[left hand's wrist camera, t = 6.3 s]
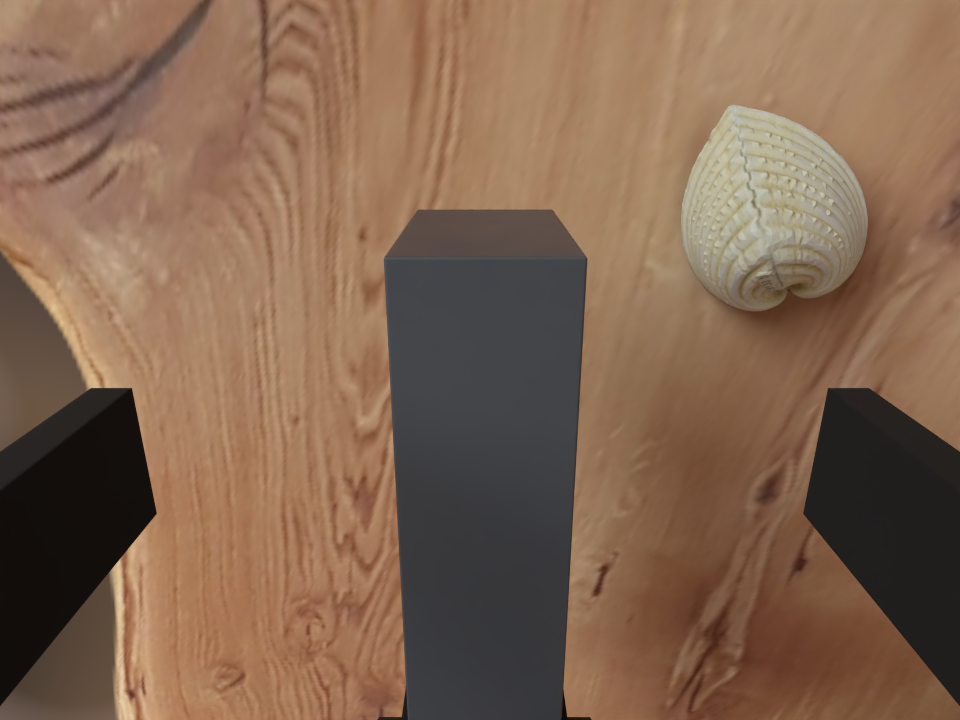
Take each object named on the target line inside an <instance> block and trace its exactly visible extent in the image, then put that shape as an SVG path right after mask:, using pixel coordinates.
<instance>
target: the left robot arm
mask: <svg viewBox="0 0 960 720" xmlns="http://www.w3.org/2000/svg"><path fill="white" fill-rule="evenodd" d="M156 514H157V513H156V508H155V503H154V498H153V493H152V487H151V482H150V477H149V472H148V467H147V462H146V457H145V452H144V447H143V442H142V437H141V432H140V427H139V422H138V417H137V412H136V407H135V402H134V397H133V392H132V388H91V389H89V390H88V391H87V392H85V393H84V394H82V395H81V396H79V397H78V398H77V399H75V400H74V401H72V402H71V403H69V404H68V405H67V406H65V407H64V408H62V409H61V410H59V411H58V412H57V413H55V414H54V415H52V416H51V417H49V418H48V419H46V420H45V421H44V422H42V423H41V424H39V425H38V426H36V427H35V428H34V429H32V430H31V431H29V432H28V433H26V434H25V435H24V436H22V437H21V438H19V439H18V440H16V441H15V442H14V443H12V444H11V445H9V446H8V447H6V448H5V449H4V450H2V451H1V452H0V706H1V704H2V703H3V702H4V701H5V699H6V698H7V697H8V696H9V694H10V693H11V692H12V691H13V690H14V688H15V687H16V686H17V685H18V683H19V682H20V681H21V680H22V679H23V677H24V676H25V675H26V674H27V672H28V671H29V670H30V669H31V667H32V666H33V665H34V664H35V663H36V661H37V660H38V659H39V658H40V656H41V655H42V654H43V653H44V651H45V650H46V649H47V648H48V647H49V645H50V644H51V643H52V642H53V640H54V639H55V638H56V637H57V636H58V634H59V633H60V632H61V631H62V629H63V628H64V627H65V626H66V624H67V623H68V622H69V621H70V620H71V618H72V617H73V616H74V615H75V613H76V612H77V611H78V610H79V608H80V607H81V606H82V605H83V604H84V602H85V601H86V600H87V599H88V597H89V596H90V595H91V594H92V593H93V591H94V590H95V589H96V588H97V586H98V585H99V584H100V583H101V581H102V580H103V579H104V578H105V576H106V575H107V574H108V573H109V572H110V570H111V569H112V568H113V567H114V565H115V564H116V563H117V562H118V561H119V559H120V558H121V557H122V556H123V554H124V553H125V552H126V551H127V549H128V548H129V547H130V546H131V545H132V543H133V542H134V541H135V540H136V538H137V537H138V536H139V535H140V534H141V532H142V531H143V530H144V529H145V527H146V526H147V525H148V524H149V522H150V521H151V520H152V519H153V518H154V516H155V515H156ZM803 514H804V515H805V516H806V518H807V519H808V520H809V521H810V522H811V524H812V525H813V526H814V527H815V529H816V530H817V531H818V532H819V534H820V535H821V536H822V537H823V538H824V540H825V541H826V542H827V543H828V545H829V546H830V547H831V548H832V549H833V551H834V552H835V553H836V554H837V556H838V557H839V558H840V559H841V561H842V562H843V563H844V564H845V565H846V567H847V568H848V569H849V570H850V572H851V573H852V574H853V575H854V577H855V578H856V579H857V580H858V581H859V583H860V584H861V585H862V586H863V588H864V589H865V590H866V591H867V593H868V594H869V595H870V596H871V597H872V599H873V600H874V601H875V602H876V604H877V605H878V606H879V607H880V608H881V610H882V611H883V612H884V613H885V615H886V616H887V617H888V618H889V620H890V621H891V622H892V623H893V624H894V626H895V627H896V628H897V629H898V631H899V632H900V633H901V634H902V636H903V637H904V638H905V639H906V640H907V642H908V643H909V644H910V645H911V647H912V648H913V649H914V650H915V652H916V653H917V654H918V655H919V656H920V658H921V659H922V660H923V661H924V663H925V664H926V665H927V666H928V668H929V669H930V670H931V671H932V672H933V674H934V675H935V676H936V677H937V679H938V680H939V681H940V682H941V683H942V685H943V686H944V687H945V688H946V690H947V691H948V692H949V693H950V695H951V696H952V697H953V698H954V699H955V701H956V702H957V703H958V704H959V706H960V452H959V451H958V450H956V449H955V448H954V447H952V446H951V445H949V444H948V443H946V442H945V441H944V440H942V439H941V438H939V437H938V436H936V435H935V434H934V433H932V432H931V431H929V430H928V429H926V428H925V427H924V426H922V425H921V424H919V423H918V422H916V421H915V420H914V419H912V418H911V417H909V416H908V415H906V414H905V413H904V412H902V411H901V410H899V409H898V408H896V407H895V406H893V405H892V404H891V403H889V402H888V401H886V400H885V399H883V398H882V397H881V396H879V395H878V394H876V393H875V392H873V391H872V390H871V389H869V388H828V392H827V397H826V402H825V407H824V412H823V417H822V422H821V427H820V432H819V437H818V442H817V447H816V452H815V457H814V462H813V467H812V472H811V477H810V482H809V487H808V492H807V498H806V503H805V508H804V513H803Z"/></svg>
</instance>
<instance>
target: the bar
mask: <svg viewBox="0 0 960 720" xmlns="http://www.w3.org/2000/svg"><path fill="white" fill-rule="evenodd" d="M384 271H385V290H386V309H387V328H388V347H389V366H390V385H391V404H392V423H393V442H394V461H395V480H396V499H397V518H398V537H399V557H400V576H401V595H402V614H403V633H404V652H405V671H406V690H407V709H408V720H561V719H562V701H563V684H564V666H565V648H566V630H567V612H568V594H569V577H570V559H571V541H572V523H573V505H574V487H575V470H576V452H577V434H578V416H579V398H580V380H581V363H582V345H583V327H584V309H585V291H586V273H587V257H586V256H585V255H584V253H583V252H582V250H581V249H580V248H579V246H578V245H577V243H576V242H575V241H574V239H573V238H572V236H571V235H570V234H569V232H568V231H567V229H566V228H565V227H564V225H563V224H562V222H561V221H560V220H559V218H558V217H557V215H556V214H555V213H554V211H553V210H417V212H416V213H415V215H414V216H413V217H412V219H411V220H410V222H409V223H408V225H407V226H406V227H405V229H404V230H403V232H402V233H401V235H400V236H399V238H398V239H397V240H396V242H395V243H394V245H393V246H392V248H391V249H390V250H389V252H388V253H387V255H386V256H385V258H384Z"/></svg>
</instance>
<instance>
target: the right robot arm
mask: <svg viewBox="0 0 960 720" xmlns="http://www.w3.org/2000/svg"><path fill="white" fill-rule="evenodd" d="M378 720H408V709H407V690H406V691H405V698H404V706H403V713H402V717H379V718H378ZM561 720H591V718H590V717H567V713H566V706H565V698H564V691H563V701H562V719H561Z"/></svg>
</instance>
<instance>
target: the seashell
mask: <svg viewBox="0 0 960 720" xmlns="http://www.w3.org/2000/svg"><path fill="white" fill-rule="evenodd" d="M867 229H868V212H867V208H866V204H865V200H864V195H863V191H862V188H861V186H860V184H859V182H858V180H857V178H856V176H855V174H854V173H853V171H852V170H851V168H850V166H849V165H848V164H847V162H846V161H845V160H844V158H843V157H842V156H841V155H840V154H839V153H838V152H837V151H836V150H835V149H834V148H833V147H832V146H830V145H829V144H828V143H827V142H826V141H825V140H824V139H822V138H821V137H819V136H818V135H817V134H815V133H814V132H812V131H810V130H809V129H807V128H805V127H803V126H802V125H800V124H798V123H795V122H793V121H791V120H789V119H787V118H785V117H781V116H778V115H776V114H773V113H770V112H766V111H762V110H757V109H750V108H747V107H743V106H739V105H735V104H733V105H731V106H729V107H728V108H727V110H726V111H725V113H724V114H723V116H722V118H721V119H720V121H719V122H718V124H717V126H716V127H715V128H714V129H713V130H712V132H711V135H710V137H709V140H708V141H707V143H706V144H705V146H704V148H703V149H702V151H701V152H700V154H699V156H698V158H697V160H696V162H695V164H694V166H693V168H692V171H691V174H690V177H689V180H688V184H687V188H686V190H685V194H684V199H683V203H682V211H681V232H682V240H683V247H684V250H685V253H686V256H687V259H688V261H689V264H690V266H691V268H692V270H693V272H694V274H695V275H696V277H697V278H698V279H699V281H700V282H701V283H702V284H703V286H704V287H705V288H706V289H707V290H708V291H709V292H710V293H711V294H713V295H714V296H715V297H716V298H718V299H719V300H721V301H722V302H724V303H726V304H728V305H730V306H732V307H735V308H738V309H741V310H746V311H764V310H768V309H771V308H774V307H776V306H778V305H779V304H780V303H782V302H783V301H784V299H785V298H786V295H787V293H788V291H789V290H790V291H791V292H792V293H793V294H794V295H796V296H798V297H801V298H817V297H820V296H823V295H825V294H827V293H830V292H831V291H833V290H834V289H836V288H838V287H839V286H840V285H841V284H843V283H844V282H845V281H846V280H847V279H848V278H849V276H850V275H851V274H852V273H853V271H854V270H855V268H856V266H857V264H858V263H859V261H860V259H861V257H862V254H863V251H864V247H865V243H866V238H867Z"/></svg>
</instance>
